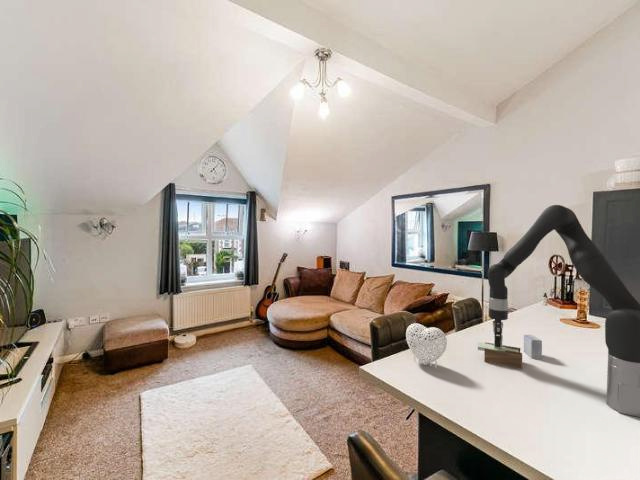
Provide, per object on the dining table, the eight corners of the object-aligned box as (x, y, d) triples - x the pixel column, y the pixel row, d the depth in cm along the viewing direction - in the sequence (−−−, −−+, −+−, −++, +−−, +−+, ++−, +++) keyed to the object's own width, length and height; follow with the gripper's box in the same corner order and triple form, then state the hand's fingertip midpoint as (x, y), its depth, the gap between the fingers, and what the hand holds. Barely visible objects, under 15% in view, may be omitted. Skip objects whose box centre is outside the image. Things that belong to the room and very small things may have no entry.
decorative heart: (400, 361, 134) (401, 323, 134) (412, 354, 142) (412, 318, 141) (440, 375, 122) (440, 333, 121) (450, 367, 129) (451, 327, 129)
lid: (519, 357, 129) (520, 340, 129) (477, 349, 137) (478, 333, 137) (518, 352, 135) (518, 336, 134) (477, 345, 142) (478, 329, 142)
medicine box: (542, 359, 138) (542, 340, 137) (531, 358, 138) (531, 340, 138) (533, 352, 145) (534, 334, 145) (523, 351, 146) (523, 334, 146)
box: (521, 368, 128) (522, 354, 127) (484, 361, 134) (484, 348, 134) (519, 361, 136) (520, 347, 135) (484, 354, 142) (484, 341, 142)
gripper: (509, 312, 127) (508, 352, 128) (506, 305, 140) (506, 342, 140) (488, 310, 131) (488, 349, 132) (488, 303, 143) (487, 339, 144)
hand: (497, 345), depth 136 cm, fingers closed on lid, 2 cm apart
